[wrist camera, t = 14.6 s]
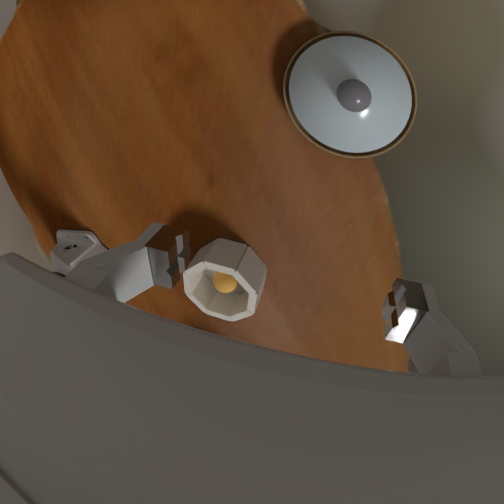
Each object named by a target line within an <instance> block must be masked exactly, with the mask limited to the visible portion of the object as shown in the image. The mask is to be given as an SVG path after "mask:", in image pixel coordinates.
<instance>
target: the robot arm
mask: <svg viewBox="0 0 504 504" xmlns="http://www.w3.org/2000/svg"><path fill="white" fill-rule="evenodd" d="M189 241H190V232H189V231H188V230H186V229H182V228H178V227H174V226H170V225H165V224H161V223H153V224H151V225H150V226H149V227H148V228H147V229H146V230H145V231H144V232H143V233H142V234H141V235H140V236H139V237H138V238H137V239H136V240H135V241H134V242H133V243H130V242H129V243H127V244H124V245H121V246H118V247H116V248H113V249H110V250H107V249H106V248H105V247H104V246H103V245H102V244H101V243H100V241H99V240H98V238H97V237H96V236H95V234H94V233H93V232H91V231H79V230H63V229H59V230H58V231H57V244H56V245H55V246H54V247H53V249H52V250H51V253H50V260H51V269H52V272H51V271H49V270H47V269H45V268H43V267H41V266H39V265H37V264H35V263H33V262H31V261H29V260H27V259H25V258H24V257H22V256H20V255H18V254H16V253H8V254H5V255H2V256H0V504H504V377H481V373H480V368H479V364H478V360H477V356H476V353H475V352H474V351H473V349H472V348H471V347H470V346H469V344H468V343H467V342H466V341H465V340H464V338H463V337H462V336H461V335H460V334H459V332H458V331H457V330H456V329H455V328H454V326H453V325H452V324H451V323H450V322H449V321H448V319H447V318H446V317H445V316H444V315H442V314H440V311H439V308H438V304H437V301H436V298H435V295H434V292H433V289H432V286H431V285H429V284H425V283H418V282H414V281H409V280H405V279H401V278H397V279H396V280H395V281H394V283H393V285H392V287H393V291H392V292H390V293H388V294H387V296H386V298H385V300H384V304H383V310H382V313H383V318H384V319H385V320H386V323H385V325H384V334H385V339H386V340H391V341H396V342H402V343H403V345H404V346H405V348H406V350H407V352H408V353H409V355H410V357H411V359H412V360H413V362H414V364H415V366H416V368H417V369H418V371H419V373H420V374H417V373H407V372H398V371H390V370H382V369H375V368H368V367H361V366H354V365H348V364H342V363H337V362H331V361H326V360H320V359H315V358H310V357H306V356H301V355H296V354H292V353H287V352H283V351H278V350H274V349H270V348H266V347H262V346H258V345H254V344H250V343H246V342H242V341H239V340H235V339H231V338H228V337H224V336H221V335H217V334H214V333H210V332H207V331H204V330H200V329H197V328H194V327H191V326H188V325H184V324H181V323H178V322H175V321H172V320H169V319H166V318H163V317H161V316H158V315H155V314H152V313H149V312H147V311H144V310H141V309H138V308H136V307H133V306H130V305H128V304H125V303H124V302H126V301H128V300H129V299H131V298H133V297H135V296H136V295H138V294H140V293H141V292H143V291H145V290H146V289H148V288H150V287H152V286H153V285H154V284H155V285H159V286H162V287H166V288H170V289H173V288H174V287H175V285H176V284H177V282H178V281H179V279H180V273H182V272H184V271H185V270H186V269H187V267H188V265H189V262H190V259H191V248H190V247H189V245H188V244H187V243H188V242H189Z"/></svg>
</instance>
